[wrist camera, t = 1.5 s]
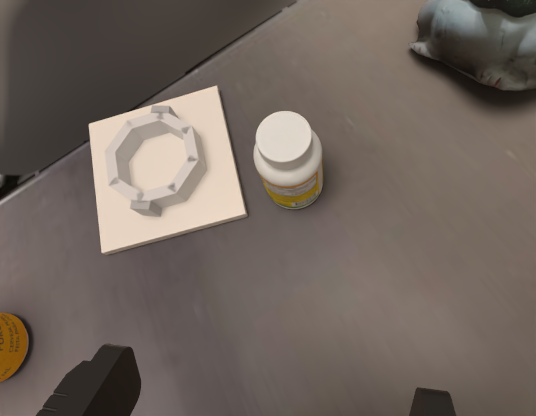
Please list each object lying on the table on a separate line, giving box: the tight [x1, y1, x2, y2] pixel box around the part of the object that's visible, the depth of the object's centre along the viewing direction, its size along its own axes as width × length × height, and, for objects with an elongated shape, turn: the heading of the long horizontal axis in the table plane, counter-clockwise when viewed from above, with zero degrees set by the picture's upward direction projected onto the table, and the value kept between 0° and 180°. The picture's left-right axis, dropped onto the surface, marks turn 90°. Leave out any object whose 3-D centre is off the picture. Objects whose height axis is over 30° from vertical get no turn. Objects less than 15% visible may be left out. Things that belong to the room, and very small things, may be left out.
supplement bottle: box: [254, 111, 323, 209], centre depth 32 cm, size 5×5×10 cm
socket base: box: [89, 86, 248, 255], centre depth 37 cm, size 14×14×4 cm
